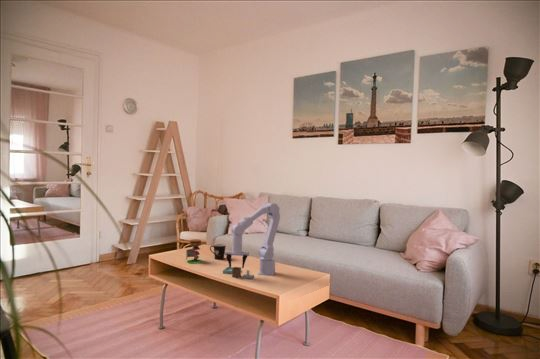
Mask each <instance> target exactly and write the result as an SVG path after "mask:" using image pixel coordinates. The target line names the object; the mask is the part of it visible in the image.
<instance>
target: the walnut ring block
mask: <svg viewBox="0 0 540 359" xmlns="http://www.w3.org/2000/svg"><path fill="white" fill-rule="evenodd" d="M241 273H242V266H241V267H240V266H239V267H238V266H234V268H233V269H232V274H231V277H232V278H236V279H237V278H240V277H242V274H241Z"/></svg>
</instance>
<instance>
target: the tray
mask: <svg viewBox="0 0 540 359" xmlns="http://www.w3.org/2000/svg"><path fill="white" fill-rule="evenodd" d="M234 267H235V266H234ZM234 267H233V266H231V268H229V266H226V267H225V268H224V269H223V270H222V274H225V275H226V274H228V275H232V269H233V268H234Z"/></svg>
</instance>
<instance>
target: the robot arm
mask: <svg viewBox="0 0 540 359" xmlns="http://www.w3.org/2000/svg"><path fill="white" fill-rule="evenodd" d="M264 214H267V215H268V216H269V217H270V221H269V224H268V228H267V231H266V236H265V239H264V242H263V243H262V244H261V247H260V248H259V250H258V255H259V272H258V273H257V275H262V276H274V274H275V273H276V260H275V259H273V258H274V255H275V253H274V251H275V249H274V242H275V237H276V234H277V230H278V227H279V224H280V220H281V214H280V207H279V206H278V204H277V203H273V202H269V201H268V202H265V203H264V204H262V205H261V206H260V207H259V208H258V209H257V210H256V211H254V213H252V214H251V215H250V216H244V217H243V219H242V220H240V221H238V222H237V223H236V224H234V225H233V226H232V228H231V229H230V230H231V233H232V246H231V248H232V249H231V250H232V251H231V250H228V251H227V250H225V254H224V256H226V259H227V262H228V267H229V268H231V267H232V257H233V256H238V257H239V256H240V257H241V256H242V263H241V264H242V265H241V269H244V268H245V263H246V260H247V258H248V257H250V252H249V251H248V252H246V251H243V234H244V233H245V231H246V230H247V229H248V228H249V227H251V226H252V225H253V224H254V221H255V220H256V219H258V218H260V217H261V216H263V215H264Z"/></svg>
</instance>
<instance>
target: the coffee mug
mask: <svg viewBox="0 0 540 359" xmlns="http://www.w3.org/2000/svg"><path fill="white" fill-rule="evenodd" d="M212 248H213V250H212ZM209 250H210V252H211V253H213V255H214V260H218V261H219V260H220V261H221V260H224V259H225V251H226V244H224V243H216V244H213V245H210V247H209Z"/></svg>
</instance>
